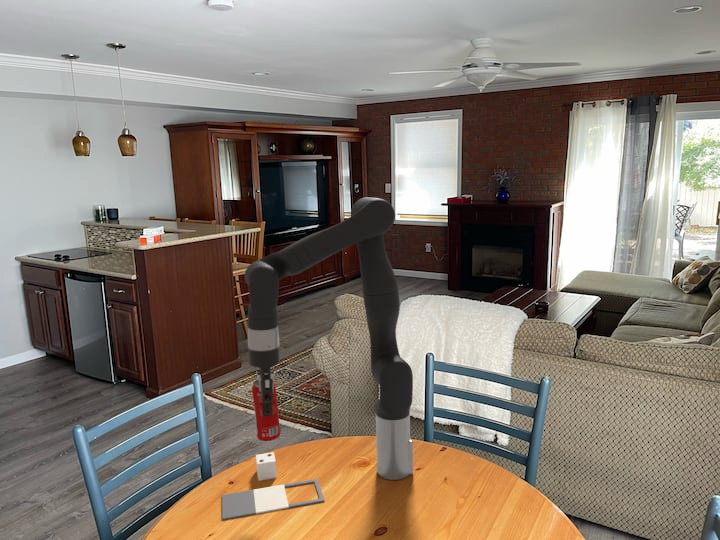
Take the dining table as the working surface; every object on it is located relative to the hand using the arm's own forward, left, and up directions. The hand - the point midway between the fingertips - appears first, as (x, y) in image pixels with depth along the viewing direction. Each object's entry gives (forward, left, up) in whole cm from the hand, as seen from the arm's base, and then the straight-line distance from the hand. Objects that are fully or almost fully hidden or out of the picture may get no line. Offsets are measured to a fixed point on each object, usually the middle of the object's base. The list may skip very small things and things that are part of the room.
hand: (266, 409), depth 131 cm
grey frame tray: (0, 0, -24) cm, 24 cm away
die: (0, -12, -25) cm, 27 cm away
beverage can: (0, 0, -8) cm, 8 cm away
